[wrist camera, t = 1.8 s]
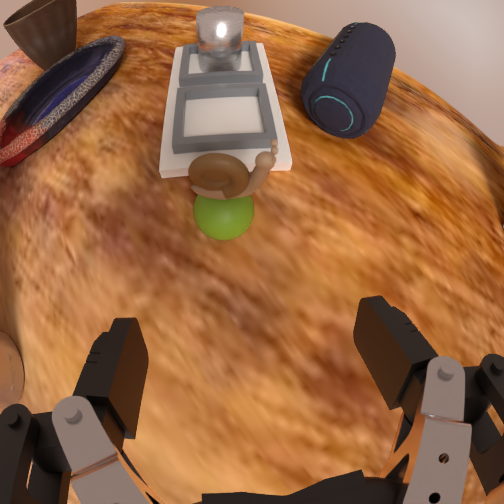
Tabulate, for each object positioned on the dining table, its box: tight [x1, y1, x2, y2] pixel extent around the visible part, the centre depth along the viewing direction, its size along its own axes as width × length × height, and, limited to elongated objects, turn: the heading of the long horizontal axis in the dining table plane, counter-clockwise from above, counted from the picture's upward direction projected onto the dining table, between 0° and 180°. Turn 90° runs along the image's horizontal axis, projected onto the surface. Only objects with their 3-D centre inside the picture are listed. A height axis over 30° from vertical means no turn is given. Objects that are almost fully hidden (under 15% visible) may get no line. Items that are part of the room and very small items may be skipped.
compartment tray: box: [159, 41, 292, 178], centre depth 34 cm, size 14×26×3 cm, turn 5°
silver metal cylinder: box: [196, 6, 244, 73], centre depth 31 cm, size 6×6×9 cm
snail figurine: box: [188, 139, 278, 240], centre depth 23 cm, size 5×6×12 cm
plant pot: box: [3, 0, 77, 71], centre depth 32 cm, size 15×15×16 cm
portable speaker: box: [301, 22, 396, 139], centre depth 33 cm, size 25×10×10 cm, turn 153°
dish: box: [0, 36, 125, 167], centre depth 32 cm, size 16×31×5 cm, turn 153°
